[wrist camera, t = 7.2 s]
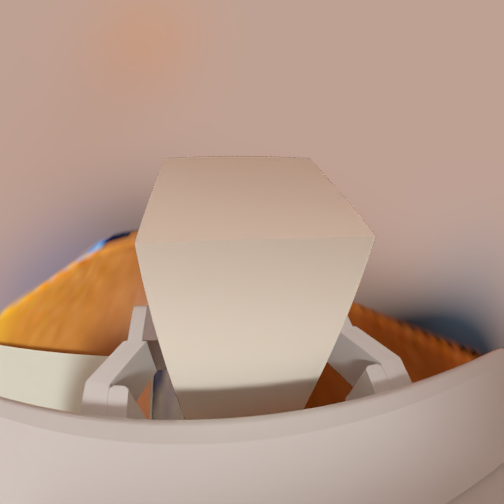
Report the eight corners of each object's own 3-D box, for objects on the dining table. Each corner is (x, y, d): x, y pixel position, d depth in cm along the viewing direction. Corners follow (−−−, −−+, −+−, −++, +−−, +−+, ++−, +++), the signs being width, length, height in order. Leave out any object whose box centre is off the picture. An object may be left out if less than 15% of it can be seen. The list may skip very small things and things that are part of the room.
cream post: (271, 368, 16) (309, 158, 9) (286, 439, 13) (376, 236, 6) (192, 373, 16) (164, 158, 8) (196, 447, 12) (134, 243, 5)
